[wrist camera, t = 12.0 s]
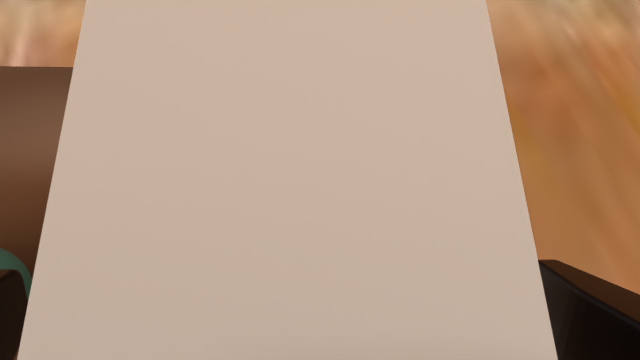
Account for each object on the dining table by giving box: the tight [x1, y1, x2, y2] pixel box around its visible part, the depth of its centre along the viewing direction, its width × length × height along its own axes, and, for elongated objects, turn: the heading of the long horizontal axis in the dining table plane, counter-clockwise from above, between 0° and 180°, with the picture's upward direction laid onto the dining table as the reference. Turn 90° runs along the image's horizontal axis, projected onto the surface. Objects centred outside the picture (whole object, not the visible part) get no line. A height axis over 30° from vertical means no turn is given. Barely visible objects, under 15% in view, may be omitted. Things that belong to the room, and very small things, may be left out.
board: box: [0, 66, 74, 360], centre depth 16 cm, size 18×24×1 cm
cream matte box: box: [17, 0, 558, 360], centre depth 12 cm, size 6×6×10 cm
